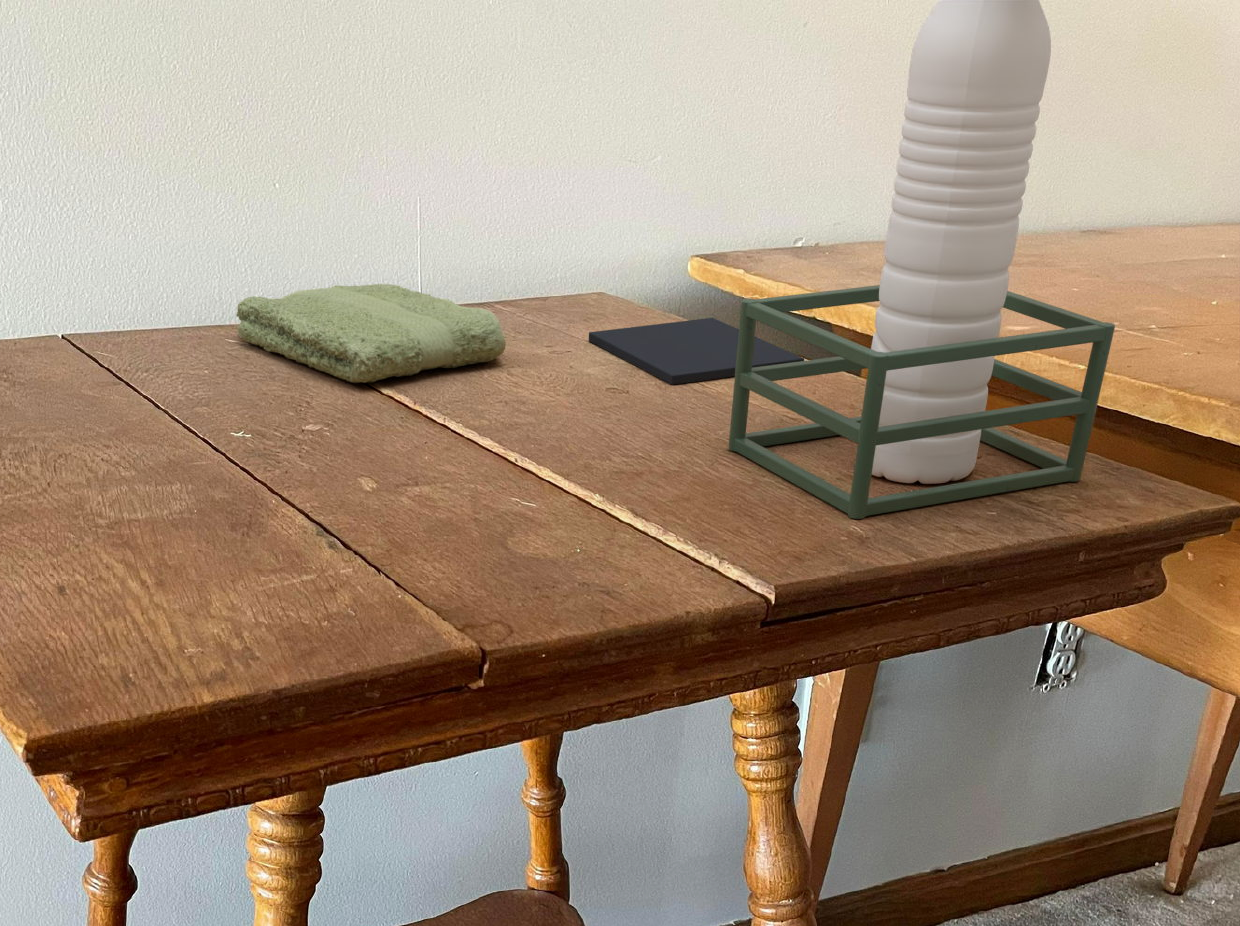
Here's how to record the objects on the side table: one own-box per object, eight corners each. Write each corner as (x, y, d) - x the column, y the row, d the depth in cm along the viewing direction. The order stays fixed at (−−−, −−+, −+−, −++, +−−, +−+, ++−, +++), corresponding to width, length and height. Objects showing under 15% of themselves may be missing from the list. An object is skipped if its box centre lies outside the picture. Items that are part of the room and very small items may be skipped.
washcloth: (382, 311, 114) (380, 264, 112) (518, 364, 102) (519, 312, 101) (223, 337, 108) (218, 288, 106) (349, 396, 97) (345, 342, 95)
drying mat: (803, 367, 102) (804, 358, 101) (671, 385, 98) (672, 375, 98) (712, 326, 110) (712, 317, 110) (588, 341, 107) (588, 331, 107)
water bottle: (996, 466, 85) (1102, -82, 70) (932, 494, 82) (1028, -77, 67) (865, 432, 90) (938, -86, 75) (799, 457, 87) (861, -82, 72)
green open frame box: (1083, 480, 83) (1119, 325, 79) (854, 520, 79) (877, 357, 74) (938, 416, 93) (962, 273, 88) (725, 448, 88) (738, 299, 83)
